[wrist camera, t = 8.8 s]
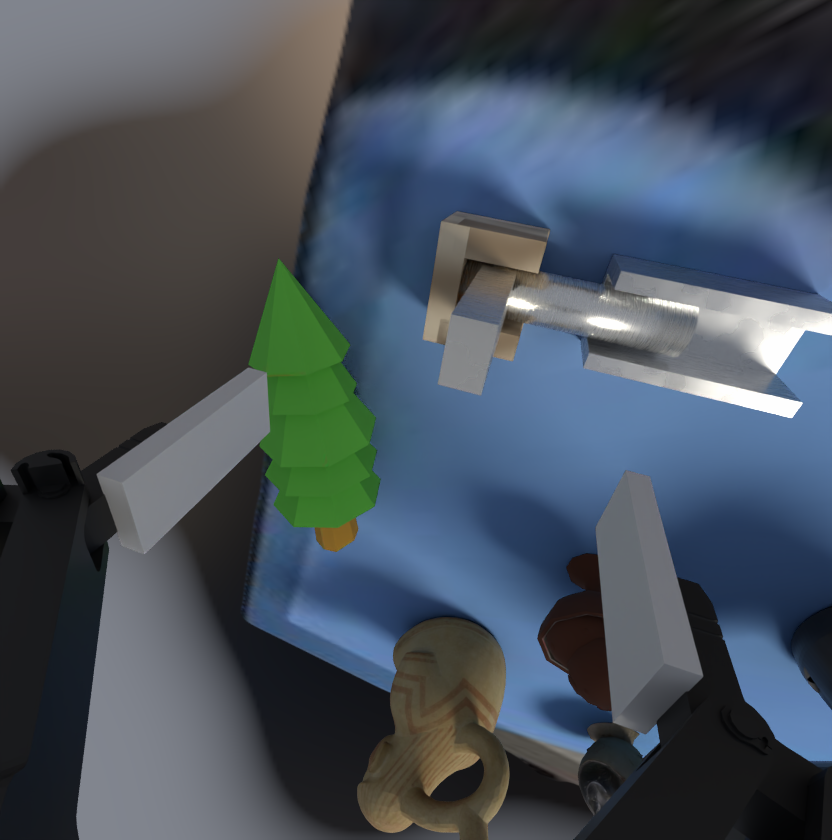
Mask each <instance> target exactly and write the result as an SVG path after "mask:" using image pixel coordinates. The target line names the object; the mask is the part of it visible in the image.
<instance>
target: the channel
mask: <svg viewBox="0 0 832 840" xmlns="http://www.w3.org/2000/svg"><path fill="white" fill-rule="evenodd" d="M602 284H603V285H608V286H613V288H614V290H619V291H624V292H628V293H633V294H638V295H643V296H647V297H652V298H657V299H662V300H666V301H671V302H676V303H681V304H685V305H690V306H695V307H698V308H699V316H698V322H697V325H696V329H695V331H694V334H693V336H692V338H691V340H690V342H689V344H688V346H687V347H686V349H685V350H684V351H683V352H682V353H681V354H680V355H679V356H677V357H671V356H667V355H662V354H658V353H654V352H649V351H645V350H640V349H636V348H632V347H627V346H623V345H619V344H614V343H610V342H605V341H601V340H597V339H592V338H588V337H584V336H582V338H581V350H582V360H583V368H585V369H590V370H594V371H598V372H602V373H606V374H610V375H615V376H619V377H623V378H627V379H631V380H636V381H640V382H644V383H648V384H652V385H656V386H661V387H665V388H669V389H673V390H677V391H681V392H686V393H690V394H694V395H698V396H702V397H707V398H711V399H715V400H719V401H723V402H727V403H732V404H736V405H740V406H744V407H748V408H753V409H757V410H761V411H765V412H769V413H773V414H778V415H782V416H786V417H790V418H792V417H793V415H794V414H795V413H796V411H797V410H798V409H799V407H800V406H801V404H802V402H801V401H800V400H799V399H798V398H797V397H796V395H795V394H794V393H793V392H792V391H791V390H790V389H789V388H788V387H787V386H786V385H785V384H784V383H783V382H782V381H781V379H780V378H779V377H778V376H777V375H776V373H777V371H778V370H779V368H780V367H781V365H782V364H783V362H784V361H785V359H786V358H787V356H788V355H789V353H790V352H791V350H792V349H793V347H794V346H795V344H796V343H797V341H798V340H799V339H800V337H801V336H802V334H803V333H804V331H805V330H809V331H813V332H818V333H823V334H828V335H832V302H831V301H829V300H828V299H826V298H824V297H822V296H821V295H818V294H813V293H808V292H803V291H798V290H793V289H788V288H783V287H778V286H773V285H768V284H763V283H758V282H753V281H748V280H743V279H738V278H733V277H728V276H723V275H718V274H713V273H708V272H703V271H698V270H693V269H688V268H683V267H678V266H673V265H668V264H662V263H657V262H652V261H647V260H642V259H637V258H632V257H627V256H622V255H617V254H613V255H612V258H611V260H610V263H609V266H608V268H607V271H606V274H605V276H604V279H603V282H602Z"/></svg>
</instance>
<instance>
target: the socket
mask: <svg viewBox="0 0 832 840" xmlns="http://www.w3.org/2000/svg"><path fill="white" fill-rule="evenodd" d="M549 233H550V229H546V228H541V227H536V226H530V225H525V224H520V223H515V222H510V221H505V220H500V219H494V218H489V217H484V216H479V215H474V214H469V213H464V212H459V211H456V212H455V213H453V214H452V215H450V216H449V217H447V218H446V219H444V220H442V221H441V226H440V232H439V239H438V245H437V251H436V258H435V264H434V271H433V277H432V283H431V290H430V296H429V303H428V309H427V315H426V322H425V328H424V335H423V340H427V341H431V342H435V343H439V344H443V345H445V344H446V338H447V333H448V328H449V323H450V317H451V314H452V312H453V310H454V309H455V307H456V306H457V300H458V293H459V288H460V283H461V279H462V275H463V271H464V268H465V265H466V262H467V260H468V259H472V260H476V261H481V262H486V263H491V264H495V265H500V266H505V267H510V268H514V269H519V270H524V271H529V272H533V273H538V272H539V268H540V265H541V262H542V258H543V255H544V251H545V248H546V244H547V240H548V236H549ZM522 327H523V323H522V322H518V321H514V320H509V319H505V320H504V324H503V327H502V330H501V334H500V337H499V340H498V343H497V346H496V349H495V353H494V356H493V357H497V358H501V359H505V360H509V361H513V359H514V355H515V352H516V348H517V345H518V341H519V338H520V333H521V330H522Z"/></svg>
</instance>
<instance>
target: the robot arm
mask: <svg viewBox="0 0 832 840" xmlns="http://www.w3.org/2000/svg"><path fill="white" fill-rule="evenodd" d="M269 432H270V420H269V403H268V386H267V372H263V371H259V370H256V369H252V368H247V369H246V370H244V371H243V372H242V373H240V374H239V375H237V376H236V377H234V378H233V379H231V380H230V381H229V382H227V383H226V384H224V385H223V386H221V387H220V388H219V389H217V390H216V391H214V392H213V393H211V394H210V395H209V396H207V397H206V398H204V399H203V400H202V401H200V402H199V403H197V404H196V405H194V406H193V407H192V408H190V409H189V410H187V411H186V412H184V413H183V414H182V415H180V416H179V417H177V418H176V419H174V420H173V421H172V422H170V423H169V424H166V423H163V422H161V423H158V424H155V425H153V426H150V427H147V428H144V429H143V430H141V431H140V432H138V433H137V434H135V435H134V436H132V437H131V438H130V440H126V441H125V442H124V443H122V444H121V445H119V447H118V448H115V449H113V450H112V451H110V452H109V453H107V454H106V455H104V456H103V457H101V458H100V459H98V460H97V461H95V462H94V463H92V464H91V465H89V466H88V467H86V468H85V469H83V470H82V471H80V468H79V465H78V463H77V460H76V457H75V456H74V455H73V454H72V453H70V452H69V451H64V450H47V451H42V452H38V453H35V454H32V455H30V456H27V457H25V458H23V459H22V460H21V461H19V462H18V463H16V464H15V466H14V467H13V468H12V469H11V472H12V474H13V476H14V478H15V480H16V482H17V483H18V485H3V484H2V482H1V480H0V840H79V836H78V830H77V822H76V813H77V803H78V795H79V787H80V779H81V770H82V763H83V755H84V746H85V738H86V731H87V723H88V722H87V721H88V714H89V706H90V698H91V690H92V682H93V674H94V666H95V658H96V650H97V642H98V634H99V626H100V618H101V609H102V602H103V594H104V586H105V577H106V569H107V561H108V553H109V547H108V542H107V540H108V539H110V538H111V537H112V536H113V535H114V534H115V533H116V532H117V534H118V537H119V540H120V542H121V545H122V546H123V547H126V548H128V549H131V550H134V551H137V552H140V553H142V554H145V553H146V552H147V551H148V550H149V549H150V548H151V547H153V546H154V544H156V543H157V542H158V541H159V540H160V539H161V538H162V537H163V536H164V535H165V534H166V533H167V532H168V531H169V530H170V529H171V528H172V527H173V526H174V525H175V524H176V523H177V522H178V521H179V520H180V519H181V518H182V517H183V516H184V515H185V514H186V513H187V512H188V511H189V510H190V509H191V508H193V507H194V506H195V505H196V504H197V503H198V502H199V501H200V500H201V499H202V498H203V497H204V496H205V495H206V494H207V493H208V492H209V491H210V490H211V489H212V488H213V487H214V486H215V485H216V484H217V483H218V482H219V481H220V480H221V479H222V478H223V477H224V476H225V475H226V474H227V473H228V472H229V471H230V470H231V469H232V468H233V467H234V466H236V465H237V464H238V463H239V462H240V461H241V460H242V459H243V458H244V457H245V456H246V455H247V454H248V453H249V452H250V451H251V450H252V449H253V448H254V447H255V446H256V445H257V444H258V443H259V442H260V441H261V440H262V439H263V438H264V437H265V436H266V435H267V434H268V433H269ZM596 539H597V550H598V562H599V573H600V584H601V595H602V606H603V617H604V629H605V640H606V651H607V662H608V673H609V684H610V696H611V707H612V718H613V723H616V724H618V725H621V726H624V727H627V728H630V729H632V730H635V731H638V732H641V733H643V734H647V733H648V732H649V731H650V730H651V729H652V728H653V727H654V726H655V725H656V724H657V727H658V733H659V739H660V743H659V744H658V745H657V746H656V747H655V748H654V749H652V750H651V751H650V752H649V753H648V754H647V755H646V756H645V757H644V758H643V759H642V762H641V764H640V765H639V766H638V767H637V768H636V769H635V770H634V772H633V773H632V774H631V775H630V776H629V777H628V778H627V779H626V781H625V782H624V783H623V784H622V785H621V786H620V787H619V789H618V790H617V791H616V792H615V793H614V794H613V795H612V796H611V798H610V799H609V800H608V801H607V802H606V803H605V804H604V806H603V807H602V808H601V809H600V810H599V811H598V812H597V813H596V815H595V816H594V817H593V818H592V819H591V820H590V821H589V822H588V824H587V825H586V826H585V827H584V828H583V829H582V830H581V832H580V833H579V834H578V835H577V836H576V837H575V839H573V840H832V761H808V760H806V759H805V758H803V757H802V756H800V755H798V754H797V753H795V752H794V751H792V750H791V749H789V748H787V747H786V746H784V745H783V744H782V743H780V742H779V741H778V740H776V739H775V737H774V734H773V733H772V731H771V729H770V727H769V726H768V724H767V722H766V721H765V720H764V719H763V718H762V716H761V715H760V714H759V713H758V712H757V711H756V710H755V709H754V708H753V707H752V706H750V705H749V704H748V703H746V702H745V700H744V698H743V695H742V692H741V689H740V686H739V683H738V680H737V677H736V674H735V671H734V668H733V665H732V662H731V659H730V656H729V653H728V650H727V647H726V644H725V641H724V640H723V639H722V638H723V635H722V632H721V629H720V626H719V625H718V624H717V622H718V620H717V616H716V613H715V610H714V607H713V604H712V602H711V601H710V599H709V598H708V596H707V595H706V594H705V592H704V591H703V589H702V588H701V587H700V585H699V584H697V583H694V582H691V581H687V580H684V579H681V578H677V576H676V572H675V568H674V565H673V561H672V557H671V554H670V550H669V546H668V542H667V539H666V535H665V531H664V528H663V524H662V520H661V516H660V513H659V509H658V505H657V501H656V498H655V494H654V490H653V487H652V483H651V479H650V477H649V476H645V475H642V474H638V473H634V472H631V471H627V470H626V471H625V473H624V474H623V476H622V478H621V480H620V482H619V484H618V486H617V488H616V490H615V492H614V493H613V495H612V497H611V499H610V501H609V503H608V505H607V507H606V509H605V510H604V512H603V514H602V516H601V518H600V520H599V522H598V524H597V526H596ZM791 649H792V653H793V656H794V658H795V660H796V662H797V664H798V667H799V669H800V671H801V673H802V675H803V676H804V678H805V679H806V681H807V682H808V683H809V684H810V686H811V687H812V688H813V689H814V690H815V691H816V692H818V693H819V694H820V696H821V697H822V699H823V700H824V701H825V702H826V704H827V705H828V706H829V707H830V708H831V710H832V607H830V608H827V609H825V610H823V611H821V612H819V613H817V614H815V615H813V616H812V617H810V618H809V619H807V620H806V621H805V622H804V623H802V624H801V625H800V627H799V628H798V629H797V630H796V632H795V634H794V635H793V638H792V642H791Z"/></svg>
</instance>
